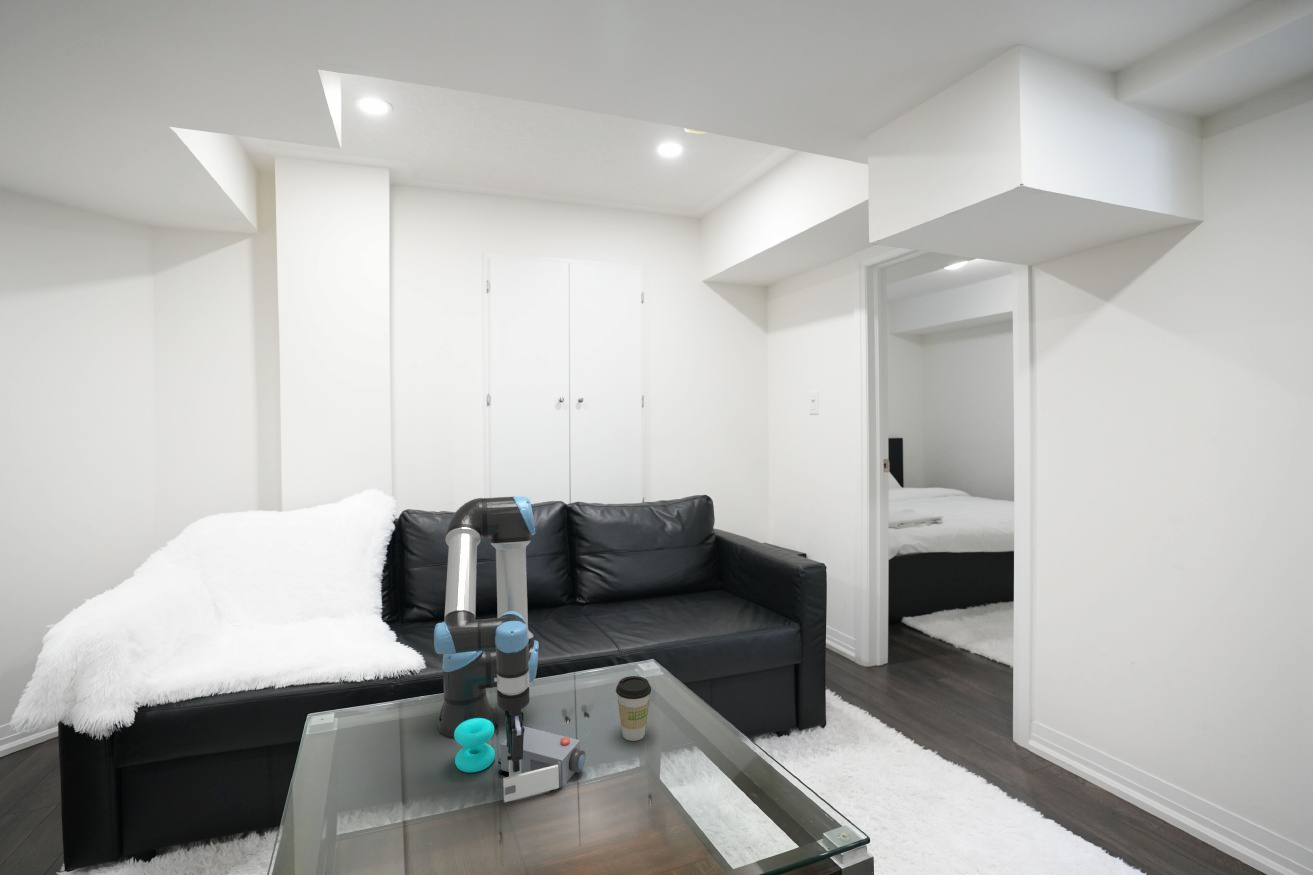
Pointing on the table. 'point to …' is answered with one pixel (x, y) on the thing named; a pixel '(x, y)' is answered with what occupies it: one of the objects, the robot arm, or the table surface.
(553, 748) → the grey boxy piece
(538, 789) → the side door
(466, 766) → the donuts
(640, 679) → the coffee cup
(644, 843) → the table surface
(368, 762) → the table surface
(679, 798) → the table surface
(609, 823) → the table surface
